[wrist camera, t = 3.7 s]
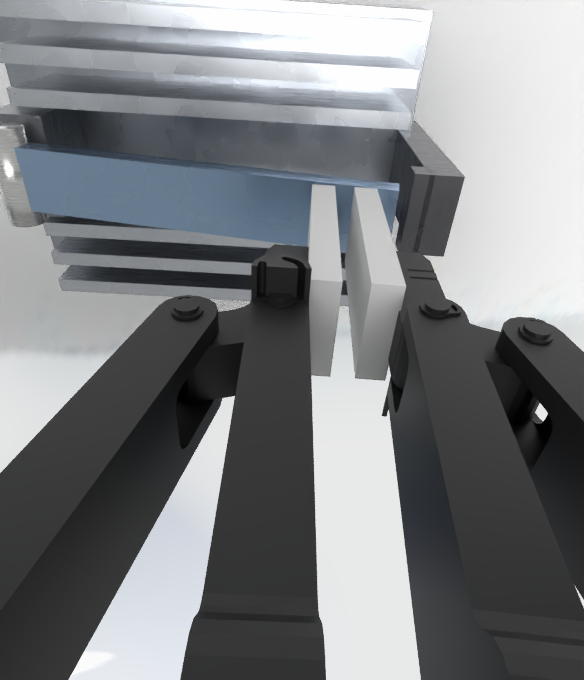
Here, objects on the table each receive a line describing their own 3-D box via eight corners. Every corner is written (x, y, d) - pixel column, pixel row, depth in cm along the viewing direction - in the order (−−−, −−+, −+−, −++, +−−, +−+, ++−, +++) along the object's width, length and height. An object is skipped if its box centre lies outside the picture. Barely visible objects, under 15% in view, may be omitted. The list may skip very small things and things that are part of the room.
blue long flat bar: (24, 212, 20) (1, 224, 19) (-3, 120, 18) (-30, 128, 17) (384, 259, 18) (383, 275, 17) (402, 163, 16) (402, 175, 15)
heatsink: (71, 240, 27) (-11, 326, 20) (8, -18, 20) (-150, -25, 13) (388, 258, 28) (418, 349, 21) (436, 10, 21) (507, 18, 14)
